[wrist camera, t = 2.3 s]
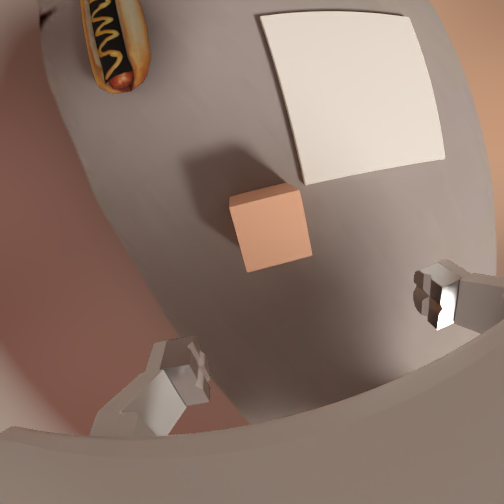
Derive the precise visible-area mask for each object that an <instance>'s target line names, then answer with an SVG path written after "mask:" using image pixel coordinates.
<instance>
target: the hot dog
mask: <svg viewBox="0 0 504 504" xmlns="http://www.w3.org/2000/svg"><path fill="white" fill-rule="evenodd" d="M80 6H81V14H82V21H83V27H84V33H85V39H86V44H87V49H88V54H89V59H90V64H91V68H92V71H93V74H94V78H95V80H96V83H97V85H98V86H99V87H100V88H101V89H103V90H105V91H107V92H109V93H111V94H117V93H123V92H130V91H132V90H133V89H135V88H136V87H137V86H139V85H140V84H141V83H142V82H143V81H144V79H145V78H146V76H147V73H148V69H149V65H150V60H151V53H150V46H149V39H148V31H147V26H146V22H145V19H144V15H143V12H142V8H141V4H140V2H139V0H80Z"/></svg>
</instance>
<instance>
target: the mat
mask: <svg viewBox="0 0 504 504" xmlns="http://www.w3.org/2000/svg"><path fill="white" fill-rule="evenodd" d="M260 22H261V25H262V28H263V31H264V34H265V37H266V40H267V44H268V47H269V50H270V53H271V57H272V60H273V63H274V67H275V70H276V74H277V77H278V81H279V84H280V88H281V91H282V95H283V99H284V102H285V106H286V110H287V114H288V118H289V122H290V126H291V130H292V134H293V138H294V142H295V146H296V150H297V155H298V159H299V163H300V168H301V172H302V177H303V182H304V185H309V184H313V183H318V182H322V181H327V180H331V179H336V178H341V177H346V176H351V175H355V174H360V173H366V172H371V171H376V170H381V169H387V168H392V167H398V166H403V165H409V164H415V163H421V162H427V161H434V160H440V159H445V153H444V145H443V139H442V132H441V127H440V121H439V116H438V111H437V106H436V102H435V97H434V93H433V89H432V85H431V81H430V78H429V74H428V71H427V67H426V64H425V60H424V57H423V54H422V51H421V48H420V45H419V42H418V40H417V37H416V34H415V31H414V29H413V26H412V24H411V21H410V19H409V17H403V16H396V15H388V14H378V13H366V12H345V11H318V12H297V13H284V14H274V15H266V16H260Z"/></svg>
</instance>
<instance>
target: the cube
mask: <svg viewBox="0 0 504 504" xmlns="http://www.w3.org/2000/svg"><path fill="white" fill-rule="evenodd" d="M229 209H230V212H231V216H232V220H233V223H234V227H235V231H236V234H237V238H238V241H239V245H240V249H241V252H242V256H243V259H244V263H245V267H246V270H247V273H248V272H252V271H256V270H260V269H263V268H267V267H271V266H275V265H279V264H283V263H286V262H290V261H294V260H298V259H301V258H305V257H309V256H312V251H311V245H310V240H309V234H308V229H307V224H306V219H305V214H304V209H303V204H302V199H301V194H300V190H299V189H297V188H295V187H293V186H292V185H290V184H288V183H282V184H278V185H274V186H270V187H266V188H262V189H258V190H254V191H250V192H246V193H242V194H238V195H234V196H230V197H229Z"/></svg>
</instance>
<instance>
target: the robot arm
mask: <svg viewBox="0 0 504 504" xmlns="http://www.w3.org/2000/svg"><path fill="white" fill-rule="evenodd" d="M414 283H415V284H416V285H417V286H416V288H415V290H414V292H413V300H414V304H415V307H416V309H417V310H418V312H419V313H420V314H422V315H425V316H428V322H429V323H430V324H432V325H433V326H434V327H435V328H436V329H437V330H438V329H440V328H443V327H445V326H447V325H449V324H451V323H453V322H454V323H455V324H457V325H460V326H462V327H465V328H468V329H470V330H473V331H475V332H478V333H480V334H481V335H479V336H478V337H476V338H474V339H473V340H471V341H470V342H468V343H466V344H464V345H463V346H461V347H459V348H458V349H456V350H454V351H452V352H450V353H449V354H447V355H445V356H443V357H441V358H439V359H437V360H435V361H434V362H432V363H430V364H428V365H426V366H424V367H422V368H419V369H417V370H415V371H413V372H411V373H409V374H407V375H404V376H402V377H400V378H398V379H396V380H393V381H391V382H389V383H386V384H384V385H381V386H379V387H376V388H374V389H371V390H369V391H366V392H364V393H361V394H358V395H355V396H353V397H350V398H347V399H344V400H341V401H338V402H335V403H332V404H329V405H326V406H323V407H319V408H316V409H313V410H309V411H306V412H302V413H298V414H295V415H291V416H287V417H283V418H279V419H274V420H270V421H265V422H261V423H256V424H251V425H246V426H241V427H234V428H228V429H223V430H215V431H208V432H200V433H191V434H180V435H168V434H169V432H170V431H171V429H172V428H173V426H174V425H175V423H176V422H177V420H178V419H179V418H180V416H181V415H182V413H183V412H184V410H185V409H186V406H189V405H196V404H202V403H207V402H210V387H209V385H208V383H207V382H208V381H209V380H210V367H209V363H208V360H207V357H206V355H205V354H204V353H203V352H201V351H200V346H201V344H200V342H199V340H198V338H197V336H195V335H192V336H187V337H182V338H176V339H171V340H165V341H160V342H156V343H154V344H153V348H152V351H151V354H150V357H149V361H148V364H147V367H146V371H145V372H142V373H140V374H139V375H138V376H137V377H136V378H135V379H134V380H133V381H131V383H129V384H128V385H127V386H126V387H125V388H124V389H123V390H122V391H120V392H119V393H118V394H117V395H116V396H115V397H114V398H113V399H112V400H110V401H109V402H108V403H107V404H106V405H105V406H104V407H103V408H102V409H100V410H99V411H98V413H97V416H96V418H95V421H94V424H93V426H92V429H91V432H90V435H89V436H82V435H71V434H61V433H53V432H45V431H38V430H33V429H27V428H23V427H16V426H14V427H9V428H8V429H6V430H4V431H2V432H1V433H0V504H504V278H502V277H496V276H490V275H483V274H477V273H473V274H470V273H469V272H467V271H466V270H464V269H463V268H461V267H459V266H458V265H456V264H455V263H453V262H451V261H450V260H448V259H444V260H442V261H439V262H437V263H435V264H433V265H430V266H428V267H426V268H423V269H421V270H418V271H416V272H415V274H414ZM167 435H168V436H167Z"/></svg>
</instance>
